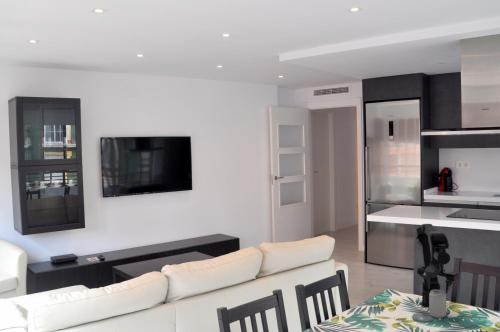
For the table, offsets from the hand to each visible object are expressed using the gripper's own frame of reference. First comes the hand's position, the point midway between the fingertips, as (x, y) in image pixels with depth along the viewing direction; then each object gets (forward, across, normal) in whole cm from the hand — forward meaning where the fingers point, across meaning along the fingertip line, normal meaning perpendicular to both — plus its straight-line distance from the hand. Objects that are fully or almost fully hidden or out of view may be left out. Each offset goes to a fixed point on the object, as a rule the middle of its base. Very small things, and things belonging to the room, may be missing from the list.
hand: (437, 291), depth 231 cm
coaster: (+12, -3, -9) cm, 15 cm away
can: (+12, 0, 0) cm, 12 cm away
